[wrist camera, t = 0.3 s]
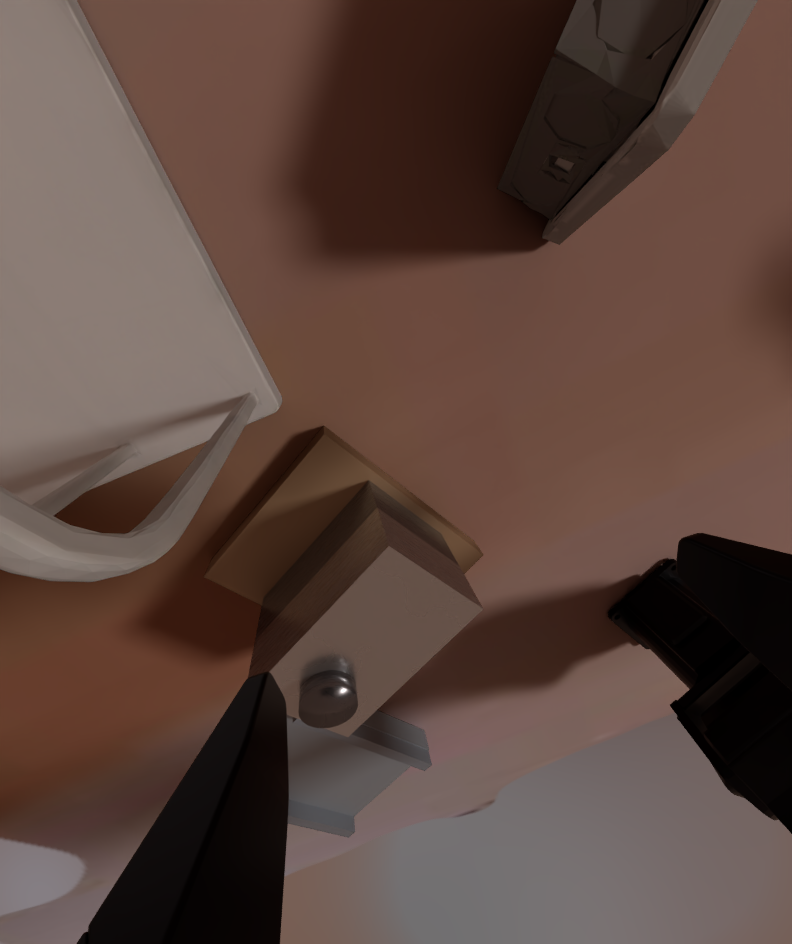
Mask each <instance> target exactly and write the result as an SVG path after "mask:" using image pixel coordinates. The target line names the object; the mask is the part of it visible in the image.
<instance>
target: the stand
mask: <svg viewBox="0 0 792 944" xmlns="http://www.w3.org/2000/svg"><path fill="white" fill-rule="evenodd" d="M368 480H370V481H371V482H372V483H374V484H375V485H376V486H378V487H379V488H380V489H382V490H383V491H384V492H386V493H387V494H388V495H390V496H391V497H392V498H394V499H395V500H397V501H398V502H399V503H401V504H402V505H403V506H405V507H406V508H407V509H409V510H410V511H411V512H413V513H414V514H415V515H417V516H418V517H419V518H421V519H422V520H424V521H425V522H426V523H428V524H429V525H430V526H432V527H433V528H434V529H436V530H437V531H438V532H440V533H441V534H442V536H443V538H444V539H445V541H446V543H447V545H448V546H449V548H450V550H451V552H452V554H453V555H454V557H455V559H456V561H457V563H458V564H459V566H460V568H461V570H462V571H463V573H464V574H465V573H466V572H467V571H468V570H469V569H470V568H471V567H472V566H473V565H474V564H475V563H476V562H477V561H478V560H479V559H480V558H481V557H482V556H483V553H482V552H481V550H480V549H479V548H478V546H477V545H476V543H475V542H474V541H473V540H472V539H471V538H469V537H468V536H467V535H465V534H464V533H463V532H462V531H460V530H459V529H458V528H456V527H455V526H454V525H452V524H451V523H450V522H449V521H447V520H446V519H445V518H443V517H442V516H441V515H439V514H438V513H437V512H435V511H434V510H433V509H432V508H430V507H429V506H428V505H426V504H425V503H424V502H422V501H421V500H420V499H419V498H417V497H416V496H415V495H413V494H412V493H411V492H409V491H408V490H407V489H406V488H404V487H403V486H402V485H400V484H399V483H398V482H396V481H395V480H394V479H393V478H391V477H390V476H389V475H387V474H386V473H385V472H383V471H382V470H381V469H380V468H378V467H377V466H376V465H374V464H373V463H372V462H370V461H369V460H368V459H366V458H365V457H364V456H363V455H361V454H360V453H359V452H357V451H356V450H355V449H353V448H352V447H351V446H350V445H348V444H347V443H346V442H344V441H343V440H342V439H340V438H339V437H338V436H337V435H335V434H334V433H333V432H331V431H330V430H329V429H327V428H326V427H325V426H323V427H322V428H321V430H320V431H319V432H318V433H317V434H316V436H315V437H314V438H313V439H312V440H311V442H310V443H309V444H308V445H307V446H306V448H305V449H304V450H303V451H302V452H301V453H300V455H299V456H298V457H297V458H296V459H295V461H294V462H293V463H292V464H291V465H290V467H289V468H288V469H287V470H286V471H285V473H284V474H283V475H282V476H281V477H280V479H279V480H278V481H277V482H276V483H275V484H274V486H273V487H272V488H271V489H270V490H269V492H268V493H267V494H266V495H265V496H264V498H263V499H262V500H261V501H260V502H259V504H258V505H257V506H256V507H255V508H254V509H253V511H252V512H251V513H250V514H249V515H248V517H247V518H246V519H245V520H244V521H243V523H242V524H241V525H240V526H239V527H238V529H237V530H236V531H235V532H234V533H233V535H232V536H231V537H230V538H229V539H228V540H227V542H226V543H225V544H224V545H223V546H222V548H221V549H220V550H219V551H218V552H217V554H216V555H215V556H214V557H213V558H212V560H211V561H210V564H209V566H208V568H207V571H206V573H205V575H204V577H205V578H207V579H209V580H211V581H213V582H215V583H217V584H219V585H221V586H223V587H225V588H227V589H229V590H231V591H233V592H235V593H237V594H239V595H241V596H243V597H245V598H247V599H249V600H251V601H253V602H255V603H257V604H259V605H262V602H263V597H264V596H265V595H266V594H267V593H268V592H269V591H270V590H271V588H272V587H273V586H274V585H275V584H276V583H277V582H278V581H279V580H280V578H281V577H282V576H283V575H284V574H285V573H286V572H287V571H288V570H289V568H290V567H291V566H292V565H293V564H294V563H295V562H296V561H297V559H298V558H299V557H300V556H301V555H302V554H303V553H304V552H305V551H306V549H307V548H308V547H309V546H310V545H311V544H312V543H313V542H314V541H315V539H316V538H317V537H318V536H319V535H320V534H321V533H322V532H323V530H324V529H325V528H326V527H327V526H328V525H329V524H330V523H331V522H332V520H333V519H334V518H335V517H336V516H337V515H338V514H339V513H340V512H341V510H342V509H343V508H344V507H345V506H346V505H347V504H348V503H349V502H350V500H351V499H352V498H353V497H354V496H355V495H356V494H357V493H358V491H359V490H360V489H361V488H362V487H363V486H364V485H365V484H366V483H367V481H368Z"/></svg>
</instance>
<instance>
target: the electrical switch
mask: <svg viewBox="0 0 792 944" xmlns="http://www.w3.org/2000/svg"><path fill="white" fill-rule="evenodd" d="M756 2H757V0H577V1H576V3H575V5H574V8H573V10H572V12H571V14H570V17H569V19H568V21H567V24H566V26H565V28H564V30H563V33H562V35H561V37H560V40H559V42H558V44H557V46H556V49H555V51H554V53H555V54H557V55H556V57H552V58H551V61H550V63H549V65H548V68H547V70H546V72H545V75H544V77H543V80H542V82H541V84H540V87H539V89H538V92H537V94H536V96H535V99H534V101H533V104H532V106H531V108H530V111H529V113H528V115H527V118H526V120H525V123H524V125H523V127H522V130H521V132H520V135H519V137H518V139H517V142H516V144H515V147H514V149H513V151H512V154H511V156H510V158H509V161H508V163H507V166H506V168H505V170H504V173H503V175H502V178H501V180H500V182H499V185H498V187H497V189H499V190H501V191H503V192H505V193H507V194H509V195H511V196H513V197H515V198H517V199H519V200H521V201H522V202H523V203H524V204H525V205H527V206H528V207H529V208H530V209H533V210H535V211H537V212H539V213H541V214H543V215H544V216H546V217H547V218H549V221H548V223H547V225H546V227H545V229H544V231H543V235H542V238H544V239H546V240H549V241H551V242H554V243H556V244H559V245H560V244H561V243H562V242H563V241H564V240H565V239H567V238H568V237H569V236H570V235H571V234H572V233H573V232H575V231H576V230H577V229H578V228H579V227H580V226H581V225H583V224H584V223H585V222H586V221H587V220H588V219H590V218H591V217H592V216H593V215H594V214H595V213H596V212H598V211H599V210H600V209H601V208H602V207H603V206H605V205H606V204H607V203H608V202H609V201H610V200H612V199H613V198H614V197H615V196H616V195H617V194H619V193H620V192H621V191H622V190H623V189H624V188H626V187H627V186H628V185H629V184H630V183H631V182H632V181H634V180H635V179H636V178H637V177H638V176H639V175H640V174H642V173H643V172H644V171H645V170H646V169H647V168H648V167H650V166H651V165H652V164H653V163H654V162H655V161H656V160H657V159H659V158H660V157H661V156H662V155H663V154H664V153H665V152H667V151H668V150H669V148H670V147H671V146H672V144H673V143H674V142H675V140H676V139H677V138H678V136H679V135H680V134H681V132H682V131H683V130H684V128H685V127H686V126H687V124H688V123H689V122H690V120H691V119H692V118H693V116H694V115H695V113H696V111H697V110H698V108H699V106H700V104H701V102H702V100H703V99H704V97H705V95H706V93H707V91H708V90H709V88H710V86H711V84H712V82H713V80H714V79H715V77H716V75H717V73H718V71H719V70H720V68H721V66H722V64H723V62H724V60H725V59H726V57H727V55H728V53H729V51H730V50H731V48H732V46H733V44H734V42H735V40H736V39H737V37H738V35H739V33H740V31H741V30H742V28H743V26H744V24H745V22H746V20H747V19H748V17H749V15H750V13H751V11H752V10H753V8H754V6H755V4H756Z"/></svg>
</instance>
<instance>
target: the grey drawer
mask: <svg viewBox="0 0 792 944" xmlns="http://www.w3.org/2000/svg"><path fill="white" fill-rule="evenodd" d="M482 610H483V607H482V605H481V604H480V602H479V600H478V598H477V597H476V595H475V593H474V591H473V589H472V588H471V586H470V584H469V582H468V580H467V579H466V577H465V575H464V573H463V571H462V570H461V568H460V566H459V564H458V563H457V561H456V559H455V557H454V555H453V554H452V552H451V550H450V548H449V546H448V545H447V543H446V541H445V539H444V538H443V536H442V534H441V533H440V532H438V531H437V530H436V529H434V528H433V527H432V526H430V525H429V524H428V523H426V522H425V521H424V520H422V519H421V518H419V517H418V516H417V515H415V514H414V513H413V512H411V511H410V510H409V509H407V508H406V507H405V506H403V505H402V504H401V503H399V502H398V501H397V500H395V499H394V498H392V497H391V496H390V495H388V494H387V493H386V492H384V491H383V490H382V489H380V488H379V487H378V486H376V485H375V484H374V483H372V482H371V481H370V480H368V481H367V483H366V484H365V485H364V486H363V487H362V488H361V489H360V490H359V491H358V493H357V494H356V495H355V496H354V497H353V498H352V499H351V500H350V502H349V503H348V504H347V505H346V506H345V507H344V508H343V509H342V510H341V512H340V513H339V514H338V515H337V516H336V517H335V518H334V519H333V520H332V522H331V523H330V524H329V525H328V526H327V527H326V528H325V529H324V530H323V532H322V533H321V534H320V535H319V536H318V537H317V538H316V539H315V541H314V542H313V543H312V544H311V545H310V546H309V547H308V548H307V549H306V551H305V552H304V553H303V554H302V555H301V556H300V557H299V558H298V559H297V561H296V562H295V563H294V564H293V565H292V566H291V567H290V568H289V570H288V571H287V572H286V573H285V574H284V575H283V576H282V577H281V578H280V580H279V581H278V582H277V583H276V584H275V585H274V586H273V587H272V588H271V590H270V591H269V592H268V593H267V594H266V595H265V596H264V597H263V602H262V607H261V612H260V617H259V622H258V628H257V633H256V638H255V643H254V648H253V654H252V659H251V664H250V669H249V674H248V678H249V677H251V676H254V675H257V674H260V673H263V672H270V673H271V674H272V675H273V677H274V679H275V681H276V683H277V684H278V686H279V688H280V690H281V692H282V694H283V696H284V698H285V702H286V708H287V715H289V716H292V717H295V718H297V719H300V720H302V721H303V722H304V723H305V724H306V725H308V726H311V727H314V728H324V729H327V730H330V731H332V732H335V733H338V734H340V735H343V736H346V737H349V736H350V735H351V734H352V733H353V732H354V731H355V730H356V729H357V728H358V727H359V726H360V725H362V724H363V723H364V722H365V721H366V720H367V719H368V718H369V717H370V716H371V715H372V714H373V713H374V712H375V711H376V710H377V709H378V708H380V707H381V706H382V705H383V704H384V703H385V702H386V701H387V700H388V699H389V698H390V697H391V696H392V695H393V694H394V693H395V692H396V691H397V690H399V689H400V688H401V687H402V686H403V685H404V684H405V683H406V682H407V681H408V680H409V679H410V678H411V677H412V676H413V675H414V674H415V673H416V672H418V671H419V670H420V669H421V668H422V667H423V666H424V665H425V664H426V663H427V662H428V661H429V660H430V659H431V658H432V657H433V656H434V655H436V654H437V653H438V652H439V651H440V650H441V649H442V648H443V647H444V646H445V645H446V644H447V643H448V642H449V641H450V640H451V639H452V638H453V637H455V636H456V635H457V634H458V633H459V632H460V631H461V630H462V629H463V628H464V627H465V626H466V625H467V624H468V623H469V622H470V621H471V620H472V619H474V618H475V617H476V616H477V615H478V614H479V613H480V612H481V611H482Z"/></svg>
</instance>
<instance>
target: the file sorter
mask: <svg viewBox="0 0 792 944" xmlns="http://www.w3.org/2000/svg"><path fill="white" fill-rule="evenodd" d="M281 403H282V396H281V394H280V392H279V390H278V389H277V387H276V385H275V383H274V381H273V379H272V377H271V375H270V373H269V371H268V370H267V368H266V366H265V364H264V362H263V360H262V358H261V356H260V354H259V352H258V350H257V348H256V346H255V344H254V343H253V341H252V339H251V337H250V335H249V333H248V331H247V329H246V327H245V325H244V323H243V321H242V319H241V317H240V316H239V314H238V312H237V310H236V308H235V306H234V304H233V302H232V300H231V298H230V296H229V294H228V292H227V290H226V289H225V287H224V285H223V283H222V281H221V279H220V277H219V275H218V273H217V271H216V269H215V267H214V265H213V263H212V262H211V260H210V258H209V256H208V254H207V252H206V250H205V248H204V246H203V244H202V242H201V240H200V238H199V236H198V235H197V233H196V231H195V229H194V227H193V225H192V223H191V221H190V219H189V217H188V215H187V213H186V211H185V210H184V208H183V206H182V204H181V202H180V200H179V198H178V196H177V194H176V192H175V190H174V188H173V186H172V184H171V183H170V181H169V179H168V177H167V175H166V173H165V171H164V169H163V167H162V165H161V163H160V161H159V159H158V157H157V155H156V154H155V152H154V150H153V148H152V146H151V144H150V142H149V140H148V138H147V136H146V134H145V132H144V130H143V128H142V126H141V124H140V122H139V121H138V119H137V117H136V115H135V113H134V111H133V109H132V107H131V105H130V103H129V101H128V99H127V97H126V95H125V93H124V91H123V89H122V87H121V86H120V84H119V82H118V80H117V78H116V76H115V74H114V72H113V70H112V68H111V66H110V64H109V62H108V60H107V58H106V56H105V54H104V53H103V51H102V49H101V47H100V45H99V43H98V41H97V39H96V37H95V35H94V33H93V31H92V29H91V27H90V25H89V23H88V21H87V20H86V18H85V16H84V14H83V12H82V10H81V8H80V6H79V4H78V2H77V0H0V569H1V570H4V571H6V572H9V573H13V574H18V575H23V576H28V577H33V578H38V579H43V580H48V581H72V582H94V581H99V580H103V579H107V578H111V577H116V576H120V575H124V574H128V573H131V572H133V571H135V570H137V569H140V568H142V567H144V566H146V565H149V564H151V563H153V562H155V561H156V560H157V559H159V558H160V557H162V556H163V555H164V554H166V553H167V552H168V551H169V550H170V549H171V548H172V547H173V546H174V544H175V543H176V542H177V541H178V540H179V539H180V537H181V536H182V534H183V533H184V531H185V529H186V528H187V526H188V525H189V523H190V522H191V520H192V518H193V517H194V515H195V513H196V512H197V510H198V508H199V506H200V505H201V503H202V501H203V499H204V498H205V496H206V494H207V492H208V491H209V489H210V487H211V485H212V484H213V482H214V480H215V478H216V477H217V475H218V473H219V471H220V470H221V468H222V466H223V464H224V463H225V461H226V459H227V457H228V455H229V454H230V452H231V450H232V448H233V446H234V445H235V443H236V441H237V439H238V437H239V436H240V434H241V432H242V430H243V429H244V427H245V425H247V424H249V423H252V422H254V421H257V420H259V419H262V418H264V417H266V416H268V415H271V414H273V413H275V412H277V410H278V409H279V407H280V405H281ZM206 441H208V442H207V444H206V445H205V446H204V447H203V449H202V450H201V451H200V453H199V454H198V455H197V456H196V458H195V459H194V460H193V461H192V463H191V464H190V465H189V466H188V468H187V469H186V470H185V471H184V473H183V474H182V475H181V476H180V478H179V479H178V480H177V482H176V483H175V484H174V485H173V487H172V488H171V489H170V490H169V491H168V493H167V494H166V495H165V496H164V497H163V498H162V500H161V501H160V502H159V503H158V504H157V505H156V507H155V508H154V509H153V510H152V511H151V512H150V514H149V515H148V516H147V517H146V518H145V519H144V520H143V521H142V522H141V523H140V524H139V525H137V526H136V527H135V528H134V529H133V530H131V531H130V532H129V533H125V534H119V533H99V532H95V531H91V530H87V529H83V528H80V527H76V526H72V525H69V524H67V523H65V522H63V521H61V520H59V519H57V518H56V517H54V515H55V514H56V513H58V512H59V511H61V510H62V509H63V508H65V507H66V506H67V505H69V504H70V503H71V502H73V501H74V500H75V499H77V498H78V497H79V496H80V495H82V494H83V493H84V492H86V491H89V490H91V489H93V488H96V487H98V486H101V485H103V484H105V483H108V482H110V481H113V480H115V479H117V478H120V477H122V476H125V475H127V474H129V473H132V472H134V471H137V470H139V469H141V468H144V467H146V466H149V465H151V464H153V463H156V462H158V461H161V460H163V459H165V458H168V457H170V456H173V455H175V454H177V453H180V452H182V451H185V450H187V449H190V448H192V447H194V446H197V445H199V444H202V443H204V442H206Z"/></svg>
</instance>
